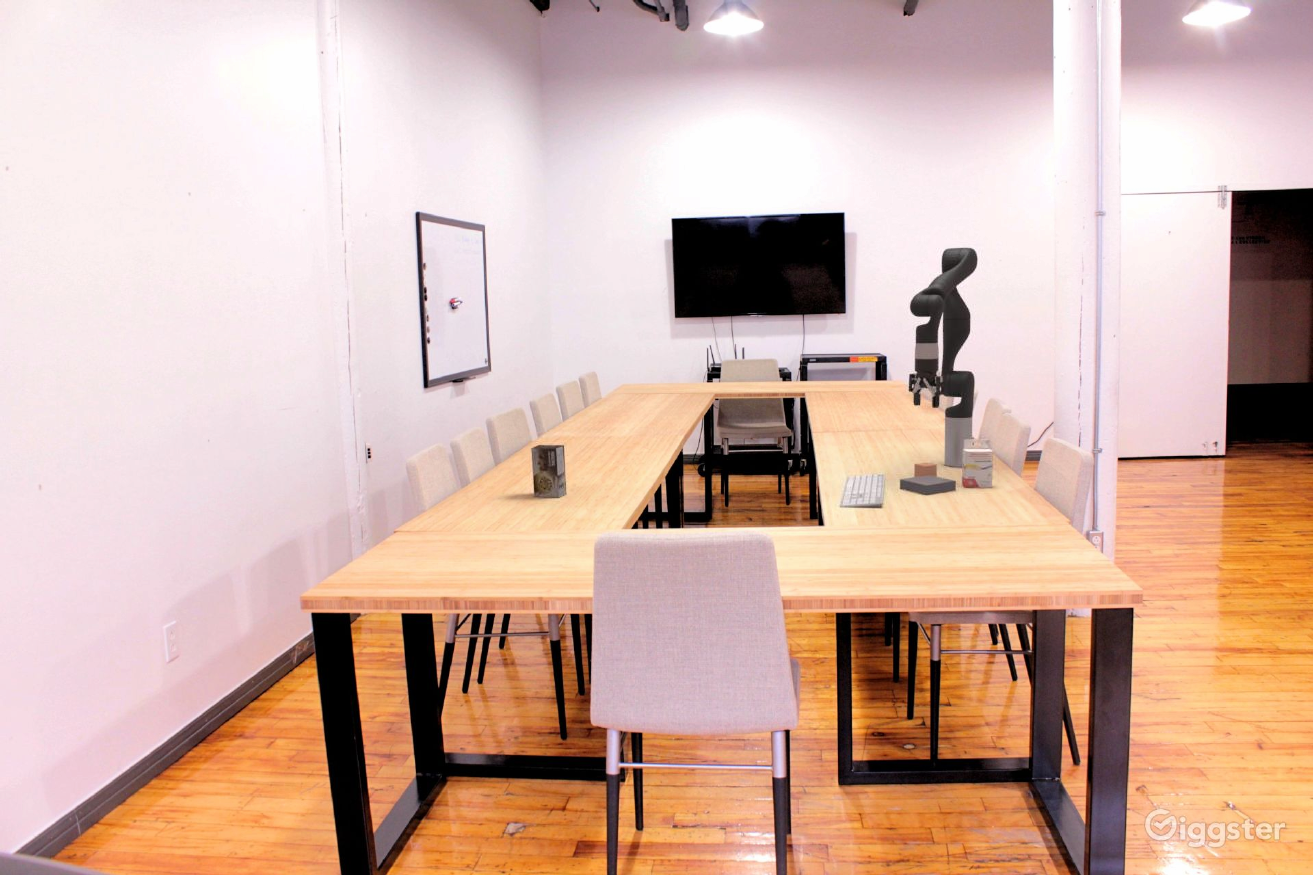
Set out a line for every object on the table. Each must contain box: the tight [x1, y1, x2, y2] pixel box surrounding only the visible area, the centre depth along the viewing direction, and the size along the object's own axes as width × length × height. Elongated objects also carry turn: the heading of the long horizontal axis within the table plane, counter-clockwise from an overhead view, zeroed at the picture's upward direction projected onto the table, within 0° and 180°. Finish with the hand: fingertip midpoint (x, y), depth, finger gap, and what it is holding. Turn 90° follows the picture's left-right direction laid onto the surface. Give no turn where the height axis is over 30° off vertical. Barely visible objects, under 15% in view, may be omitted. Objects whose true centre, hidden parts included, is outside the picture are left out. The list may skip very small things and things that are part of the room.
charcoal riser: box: [899, 475, 957, 496], centre depth 318 cm, size 12×12×3 cm
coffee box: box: [530, 444, 567, 498], centre depth 326 cm, size 9×6×16 cm
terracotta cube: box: [913, 462, 938, 477], centre depth 335 cm, size 5×5×5 cm
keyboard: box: [839, 473, 885, 508], centre depth 318 cm, size 44×12×2 cm, turn 167°
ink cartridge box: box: [961, 438, 994, 488], centre depth 320 cm, size 9×5×15 cm, turn 84°
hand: (926, 406), depth 331 cm, fingers open, 8 cm apart
